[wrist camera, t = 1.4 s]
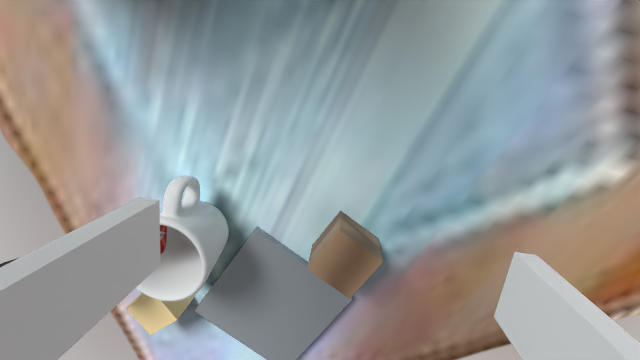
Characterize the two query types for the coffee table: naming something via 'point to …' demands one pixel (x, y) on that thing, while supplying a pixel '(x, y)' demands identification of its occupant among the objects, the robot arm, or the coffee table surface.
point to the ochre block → (156, 312)
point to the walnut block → (345, 255)
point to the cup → (185, 242)
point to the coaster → (271, 300)
